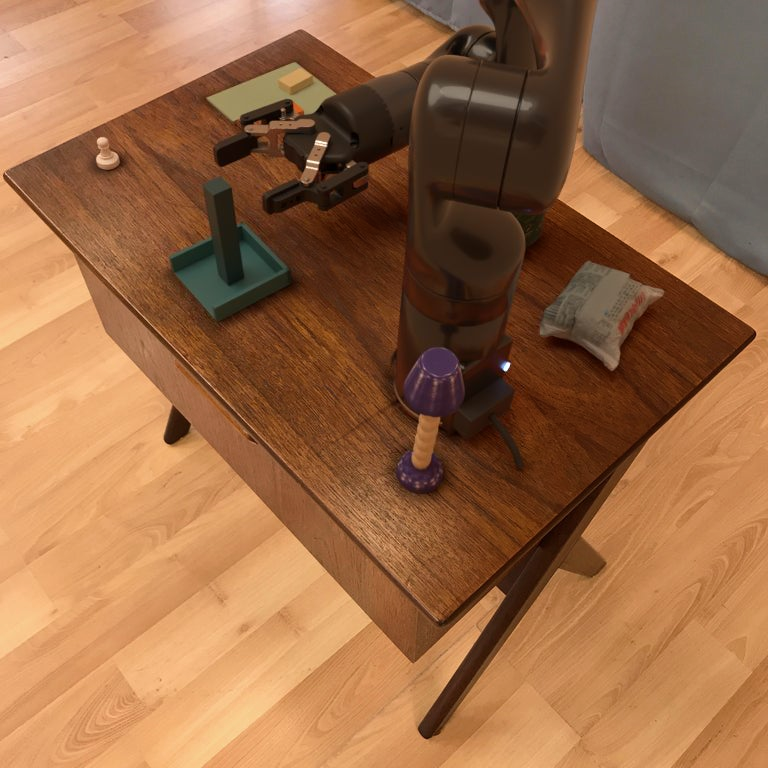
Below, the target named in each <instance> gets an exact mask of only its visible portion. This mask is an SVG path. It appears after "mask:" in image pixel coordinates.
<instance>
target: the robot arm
mask: <svg viewBox="0 0 768 768" xmlns="http://www.w3.org/2000/svg"><path fill="white" fill-rule="evenodd" d="M477 1H478V3H479V6H480V7H481V9H482V10H483V12H484V13H485V14H486V15H487V16H488V18H489V20H491V22H492V25H493V27H491V26H489V25H487V24H480V23H476V24H470V25H466V26H463V27H461V28H460V29H458V30H456V32H454V33H452V34H451V36H449V37H448V38H447V39H446V40H445V41H444V42H443V43H442V44H440V45H439V46H438V47H437V48H435V49H434V50H433V51H432V52H431V53H430V54H429V55H427V57H426V58H425V59H423V60H421V61H418V62H416V63H414V64H411V65H409V66H407V67H404V68H402V69H399V70H397V71H394V72H391V73H387V74H383V75H380V76H376V77H374V78H372V79H369V80H366V81H364V82H362V83H360V84H357V85H355V86H352V87H349V88H347V89H346V90H343V91H341V92H338V93H336V95H333V96H331V97H329V98H327V99H325V100H324V101H323V102H322V103H321V105H320V106H319V108H318V109H317V110H316V111H315V112H314V113H312V114H306V115H299V114H298V113H297V112H296V111H295V110H294V106H293V100H291V99H284V100H281V101H278V102H275V103H273V104H270V105H267V106H264V107H262V108H259V109H256V110H253V111H250V112H248V113H245V114H242V115H241V116H240V119H239V121H240V128H241V132H239V133H237V134H234V135H232V136H230V137H227V138H224V139H222V140H220V141H218V142H217V143H215V145H214V146H213V148H212V153H213V159H214V162H215V164H216V165H217V166H218V167H220V168H223V167H226V166H228V165H231V164H233V163H235V162H238V161H240V160H243V159H244V158H247V157H249V156H251V155H252V153H253V154H269V155H270V156H271V157H273V158H284V159H286V160H287V161H289V163H291V164H294V165H295V166H296V168H297V170H298V171H299V172H300V173H301V176H300V178H299V179H300V180H298V179H296V178H292V179H291V180H289V181H287V182H284V183H282V184H279V185H277V186H276V187H273V188H271V189H269V190H267V191H265V192H264V193H263V194H262V196H261V201H262V209H263V211H264V212H265V213H266V214H267V215H269V216H271V215H274V214H282V213H284V212H286V211H288V210H291V209H292V208H294V207H296V206H298V205H300V204H302V203H303V204H308V205H309V204H314V205H316V206H317V209H318V210H319V211H321V212H328V211H330V210H331V209H333V208H335V207H337V206H339V205H341V204H342V203H344V202H346V201H348V200H350V199H352V198H353V197H355V196H356V195H358V194H360V193H362V192H364V191H366V190H368V188H369V179H370V172H369V170H370V166H369V165H371V164H373V163H376V162H378V161H380V160H382V159H384V158H386V157H389V156H391V155H393V154H395V153H397V152H399V151H402V150H403V149H405V148H407V147H408V153H407V154H408V157H407V158H408V160H407V162H408V167H407V170H408V172H407V173H408V175H407V176H408V177H407V183H408V184H407V188H408V189H407V213H406V214H407V218H406V229H405V246H404V247H405V248H404V258H403V259H404V261H403V273H402V282H401V294H400V306H399V317H398V329H397V330H398V331H397V340H396V341H397V342H396V348H395V350H394V352H393V354H392V355H391V357H390V359H391V360H390V367H392V366H393V364H394V363H395V366H394V367H395V369H394V372H393V379H392V388H393V392H394V395H395V398H396V402H397V404H398V405H399V407H400V408H401V409H402V411H404V413H405V414H407V415H408V416H409V417H410V418H411V419H413V420H415V421H417V422H419V416H420V414H419V413H418V412H416V411H415V410H413V409H412V408H411V406H409V404H408V403H407V401H406V399H405V396H404V390H403V388H404V382H405V380H406V377H407V376H408V374H409V372H410V371H411V369H412V367H413V366H414V364H415V363H416V361H417V360H418V358H419V357H420V356H421V355H422V353H424V352H425V351H426V350H428V349H430V348H434V347H441V348H445V349H448V350H450V351H452V352H453V353H454V354H455V355H456V356H457V358H458V360H459V363H460V366H461V371H462V376H463V381H464V387H465V396H464V400H463V402H462V404H461V406H460V407H459V408H458V409H457V410H456V411H455V412H453V413H451V414H450V415H447V416H443V417H440V423H439V426H438V428H441V429H443V430H444V431H445V432H446V433H447V434H448V435H453V434H455V433H458V434H459V435H460V436H462V438H463V439H465V440H466V441H468V440H470V439H471V438H473V437H474V436H475V435H477V434H479V432H481V431H483V430H484V429H485V428H487V426H489V425H490V424H492V426H493V427H494V429H495V430H496V431H497V432H498V433H499V435H500V436H501V437H502V439H503V441H504V442H505V443H506V445H507V447H508V448H509V451H510V453H511V455H512V458H513V461H514V464H515V467H516V469H521V468H523V467H524V466H525V463H524V460H523V458H522V455H521V451H520V449H519V446H518V445H517V443H516V441H515V439H514V438H513V437H512V435H511V433H510V432H509V431H508V429H507V428H506V426H505V425H504V424H503V423H502V421H501V420H500V419H499V418H501V417H502V416H503V415H504V414H506V413H507V412H509V411H510V410H511V406H512V402H513V400H514V396H515V392H516V390H515V389H514V388H513V387H512V386H511V385H510V384H509V383H508V382H506V381H505V380H504V378H505V375H506V374H505V373H506V372H507V371H508V369H509V368H510V365H511V363H510V362H509V359H510V355H511V350H512V348H513V344H514V339H513V337H512V336H511V335H510V334H509V333H507V332H506V331H507V327H508V324H509V323H508V322H509V318H510V314H511V310H512V306H513V302H514V300H515V299H514V298H515V295H516V290H517V286H518V283H519V278H520V274H521V272H522V267H523V263H524V259H525V254H526V249H527V248H526V243H525V236H524V232H523V230H522V227H521V225H520V223H519V222H518V220H517V219H516V218H515V217H514V215H513V214H512V213H517V214H525V215H538V214H542V213H544V212H545V213H546V212H547V211H549V210H550V209H551V208H552V207H553V206H554V204H555V203H556V202H557V200H558V199H559V197H560V195H561V193H562V191H563V189H564V186H565V184H566V181H567V179H568V175H569V172H570V168H571V164H572V161H573V157H574V152H575V147H576V143H577V142H576V141H577V136H578V129H579V123H580V118H581V111H582V104H583V96H584V91H585V84H586V83H585V82H586V77H587V69H588V63H589V56H590V55H589V54H590V50H591V43H592V37H593V28H594V24H595V18H596V13H597V12H596V11H597V7H598V2H599V0H477ZM259 121H260V124H255V123H257V122H259ZM279 134H284V135H283V137H282V144H280V143H279V137H278V135H279ZM263 137H267V138H268V139H269V141H259V139H260V138H263ZM330 175H333V176H331V177H328V176H330ZM525 248H526V249H525Z"/></svg>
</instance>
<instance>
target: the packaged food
mask: <svg viewBox="0 0 768 768" xmlns="http://www.w3.org/2000/svg"><path fill="white" fill-rule="evenodd" d="M631 276H632V274H630V273H627V272H625V271H622V270H619V269H615V268H612V267H608V266H605V265H602V264H598V263H595V262H592V261H591V260H587V261H585V262H584V263H583V264H582V265H581V267H580V268H579V269H578V270H577V272H576V273H575V274H574V275H573V276H572V278H571V279H570V281H569V282H568V283H567V285H566V286H565V288H564V289H563V290H562V291H561V292H560V294H559V295H558V296H557V298H556V299H555V301H553V303H551V304H549V305H548V306H547V307H546V308H544V310H543V313H542V315H541V316H540V322H539V333H538V334H539V337H541V338H547V337H554V338H559V339H564V340H568V341H572V343H575V344H577V345H578V346H580V347H581V348H584V349H585V350H586V351H588V352H589V353H590V354H592V355H593V356H595V357H596V358H597V359H598V360H600V361H601V362H602V363H603V365H604V366H605V367H606V368H607V369H608V370H609V371H611V372H613V371H615V370H616V369H617V368H618V366H619V364H620V358H621V346H622V344H623V343H624V341H625V340H626V339H627V337H628V336H629V334H630V332H631V331H632V328H633V326H634V323H635V321H637V320H638V319H639V318H641V316H642V315H643V314H644V313H645V311H646V310H647V309H648V307H650V306H651V305H652V304H653V303H655V302H656V301H657V300H659V299H660V298H662V297H663V296H664V294H665V291H664V289H661V288H657V287H653V286H650V285H646V284H645V285H644V284H643V283H642V282H640V281H636V280H634V279H632V278H631Z"/></svg>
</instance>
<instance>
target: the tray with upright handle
mask: <svg viewBox="0 0 768 768" xmlns="http://www.w3.org/2000/svg"><path fill="white" fill-rule="evenodd" d="M201 186H202V191H203V197H204V202H205V209H206V214H207V220H208V225H209V230H210V236H209V237H207V238H204V239H202V240H200V241H198V242H196V243H194V244H192V245H190V246H188V247H186V248H183V249H181V250H179V251H177V252H174V253H173V254H170V255H168V260H169V264H170V268H171V272H172V273H173V274H174V275H175V276H176V277H177V278H178V279H179V281H180V282H181V283H182V284H183V285H184V286H185V288H186V289H187V290H188V291H189V292H190V293H191V294H192V295H193V296H194V298H195V299H196V300H197V301H198V302H199V304H200V305H201V306H202V307H203V308H204V309H205V311H207V312H208V314H209V315H210V316H211V317H212V318H213V320H215V322H216V323H219V322H221V321H222V320H224V319H227V318H229V317H230V316H232V315H234V314H236V313H237V312H240V311H242V310H243V309H245V308H247V307H249V306H251V305H253V304H256V303H257V302H259V301H261V300H263V299H265V298H266V297H268V296H271V295H272V294H274V293H276V292H279V291H280V290H281V289H284V288H285V287H287V286H290V285H292V275H291V269H290V268H289V267H288V265H286V264H285V263H284V261H282V260H281V259H280V257H279V256H277V254H276V253H275V252H274V251H272V250H271V248H270V247H269V246H268V245H267V244H265V242H263V240H262V239H261V238H260V237H259V236H258V235H257V234H256V233H255V232H254V231H253V230H252V229H251V228H250V227H249V226H248V225H247V224H246V223H245V222H244V221H241V222H238V223H237V215H236V210H235V203H234V195H233V188H232V186H231V185H230V184H229V183H228V182H227V181H226V180H225V179H224V178H223V177H222V176H220V175H219V176H217V177H215V178H213V179H211V180H208V181H206V182H204V183H202V184H201Z"/></svg>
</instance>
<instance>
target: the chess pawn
mask: <svg viewBox="0 0 768 768" xmlns="http://www.w3.org/2000/svg"><path fill="white" fill-rule="evenodd" d="M96 144H97V148H98V149H99V150H100V152H99V154H97V155H96V157H95V161H96V165H97V167H98V168H99V169H102V170H105V171H111V170H113V169H115V168H117V167H118V166H119V165H120V163H121V160H120V157H119V155H118V153H116V152H115V151H112V150H111V149H110V148H109V147H110V143H109V139H108V138H107V137H105V136H100V137H99V138H97V140H96Z"/></svg>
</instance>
